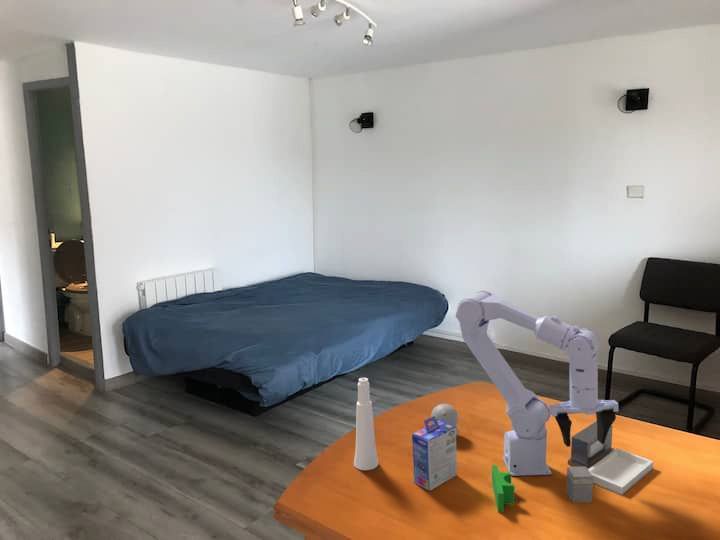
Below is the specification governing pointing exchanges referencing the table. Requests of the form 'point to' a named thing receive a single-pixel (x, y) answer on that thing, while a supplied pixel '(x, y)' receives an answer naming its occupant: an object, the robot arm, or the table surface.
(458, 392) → the table surface
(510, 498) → the pipe clamp
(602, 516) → the table surface
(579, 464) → the mounted housing
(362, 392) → the cosmetic bottle
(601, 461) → the tray
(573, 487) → the block
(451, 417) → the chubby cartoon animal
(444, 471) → the ink cartridge box
